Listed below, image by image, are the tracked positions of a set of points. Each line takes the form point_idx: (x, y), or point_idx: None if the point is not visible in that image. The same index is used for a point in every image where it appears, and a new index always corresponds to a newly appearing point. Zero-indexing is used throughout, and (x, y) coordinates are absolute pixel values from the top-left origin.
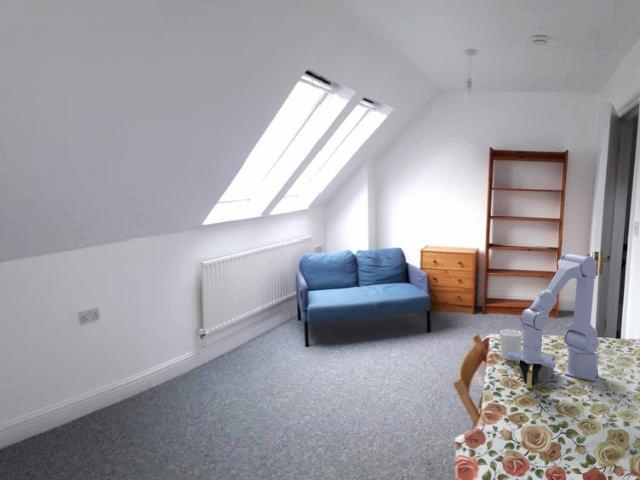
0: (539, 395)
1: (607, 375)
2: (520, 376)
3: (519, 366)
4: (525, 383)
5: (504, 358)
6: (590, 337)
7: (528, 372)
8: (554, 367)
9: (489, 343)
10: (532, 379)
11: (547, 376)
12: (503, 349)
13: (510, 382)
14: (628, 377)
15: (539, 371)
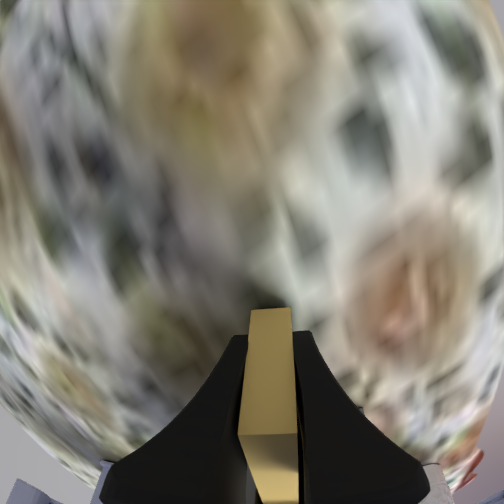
0: (157, 244)
1: None
2: (362, 410)
3: (417, 462)
4: (304, 331)
5: (430, 466)
6: None
7: (283, 433)
8: (17, 490)
9: (458, 482)
10: (233, 371)
11: None
12: (443, 494)
13: (415, 318)
14: (81, 477)
15: (249, 472)
